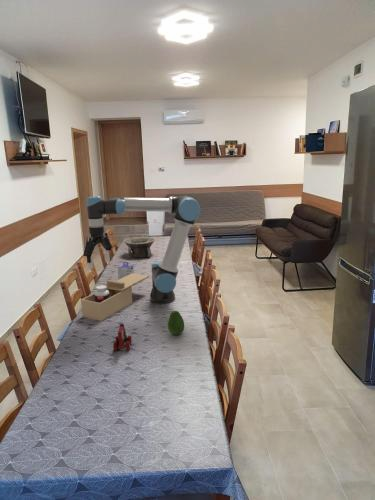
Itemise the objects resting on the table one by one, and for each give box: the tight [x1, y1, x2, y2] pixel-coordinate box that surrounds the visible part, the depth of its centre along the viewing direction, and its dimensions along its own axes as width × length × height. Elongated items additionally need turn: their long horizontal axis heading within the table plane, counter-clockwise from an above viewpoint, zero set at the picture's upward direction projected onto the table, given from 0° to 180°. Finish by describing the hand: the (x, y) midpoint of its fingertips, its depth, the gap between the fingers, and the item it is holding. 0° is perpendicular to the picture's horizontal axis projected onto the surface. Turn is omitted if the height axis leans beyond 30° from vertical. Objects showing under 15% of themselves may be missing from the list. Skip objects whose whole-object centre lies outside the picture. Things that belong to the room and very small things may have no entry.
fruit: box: [167, 310, 185, 336], centre depth 175 cm, size 8×8×12 cm
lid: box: [105, 273, 150, 291], centre depth 221 cm, size 13×28×4 cm, turn 153°
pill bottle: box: [93, 284, 109, 303], centre depth 202 cm, size 8×8×14 cm
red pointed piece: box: [113, 322, 133, 352], centre depth 165 cm, size 7×12×10 cm, turn 2°
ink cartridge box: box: [117, 261, 135, 280], centre depth 250 cm, size 10×6×14 cm, turn 85°
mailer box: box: [80, 286, 133, 322], centre depth 206 cm, size 13×28×10 cm, turn 153°
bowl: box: [123, 236, 156, 259], centre depth 320 cm, size 27×26×15 cm
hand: (99, 265), depth 197 cm, fingers open, 13 cm apart
